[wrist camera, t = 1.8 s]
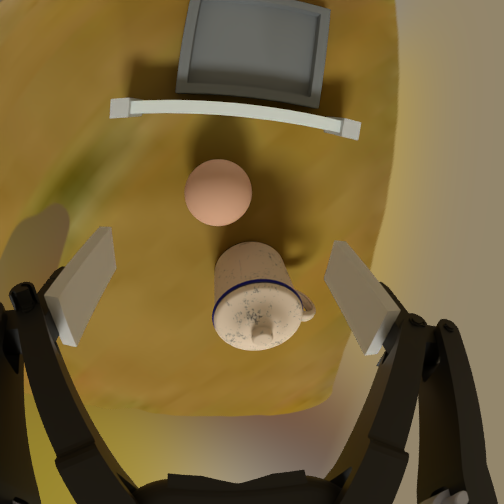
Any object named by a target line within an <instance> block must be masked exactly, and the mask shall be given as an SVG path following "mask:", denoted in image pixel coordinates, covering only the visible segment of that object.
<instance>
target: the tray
mask: <svg viewBox="0 0 504 504" xmlns="http://www.w3.org/2000/svg"><path fill="white" fill-rule="evenodd" d="M330 11H331V10H330V9H327V8H323V7H320V6H316V5H312V4H309V3H305V2H300V1H296V0H190V3H189V8H188V13H187V18H186V23H185V29H184V34H183V40H182V46H181V53H180V59H179V67H178V74H177V82H176V91H175V92H176V93H178V94H208V95H224V96H235V97H245V98H254V99H262V100H269V101H276V102H282V103H288V104H294V105H300V106H305V107H310V108H319V103H320V96H321V89H322V82H323V74H324V66H325V58H326V50H327V41H328V32H329V22H330Z"/></svg>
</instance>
